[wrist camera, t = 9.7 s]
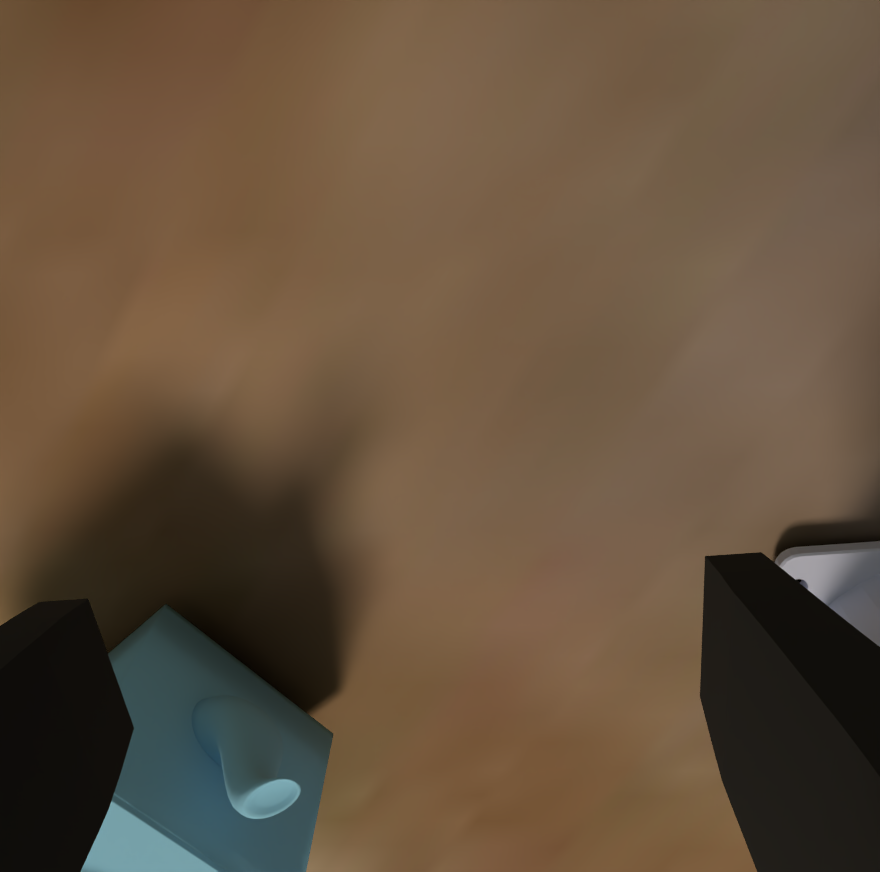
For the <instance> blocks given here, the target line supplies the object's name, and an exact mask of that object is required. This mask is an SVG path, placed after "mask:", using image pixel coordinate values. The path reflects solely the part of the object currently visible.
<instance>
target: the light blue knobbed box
mask: <svg viewBox="0 0 880 872" xmlns="http://www.w3.org/2000/svg"><path fill="white" fill-rule="evenodd" d="M108 656H109V659H110V662H111V664H112V667H113V670H114V673H115V676H116V678H117V681H118V684H119V687H120V690H121V692H122V695H123V698H124V701H125V704H126V706H127V709H128V712H129V715H130V718H131V720H132V723H133V726H134V730H133V734H132V737H131V740H130V744H129V747H128V750H127V754H126V757H125V761H124V764H123V767H122V771H121V774H120V777H119V780H118V783H117V786H116V789H115V792H114V795H113V798H112V801H111V804H110V807H109V810H108V812H107V814H106V817H105V819H104V821H103V823H102V826H101V828H100V830H99V832H98V835H97V837H96V839H95V841H94V843H93V846H92V848H91V850H90V852H89V854H88V856H87V859H86V861H85V863H84V865H83V867H82V870H81V872H306V869H307V864H308V859H309V854H310V849H311V844H312V839H313V834H314V829H315V824H316V819H317V814H318V809H319V804H320V799H321V794H322V788H323V783H324V778H325V773H326V768H327V763H328V758H329V753H330V748H331V743H332V738H333V733H332V732H330V731H329V730H328V729H326V728H325V727H324V726H323V725H321V724H320V723H319V722H318V721H316V720H315V719H314V718H312V717H311V716H310V715H309V714H307V713H306V712H305V711H303V710H302V709H301V708H300V707H298V706H297V705H296V704H294V703H293V702H292V701H290V700H289V699H288V698H287V697H285V696H284V695H283V694H281V693H280V692H279V691H278V690H276V689H275V688H274V687H272V686H271V685H270V684H269V683H267V682H266V681H265V680H264V679H262V678H261V677H260V676H258V675H257V674H256V673H255V672H253V671H252V670H251V669H249V668H248V667H247V666H246V665H244V664H243V663H242V662H240V661H239V660H238V659H237V658H235V657H234V656H233V655H231V654H230V653H229V652H227V651H226V650H225V649H224V648H222V647H221V646H220V645H219V644H217V643H216V642H215V641H213V640H212V639H211V638H210V637H208V636H207V635H206V634H204V633H203V632H202V631H201V630H199V629H198V628H197V627H195V626H194V625H193V624H192V623H190V622H189V621H188V620H186V619H185V618H184V617H183V616H181V615H180V614H179V613H177V612H176V611H175V610H174V609H172V608H171V607H170V606H168V605H167V604H165V605H164V606H163V607H161V608H160V609H159V610H158V611H157V612H156V613H154V614H153V615H152V616H151V617H150V618H149V619H147V620H146V621H145V622H144V623H143V624H142V625H140V626H139V627H138V628H137V629H136V630H135V631H134V632H132V633H131V634H130V635H129V636H128V637H127V638H125V639H124V640H123V641H122V642H121V643H120V644H118V645H117V646H116V647H115V648H114V649H113V650H111V651H110V652H109V653H108Z"/></svg>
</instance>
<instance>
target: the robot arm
mask: <svg viewBox="0 0 880 872" xmlns="http://www.w3.org/2000/svg"><path fill="white" fill-rule="evenodd" d="M796 579H802V581H801V582H800V583H799V582H798V581H796ZM700 698H701V702H702V706H703V710H704V714H705V718H706V722H707V725H708V729H709V733H710V737H711V741H712V745H713V749H714V752H715V756H716V760H717V763H718V767H719V771H720V774H721V778H722V781H723V784H724V787H725V789H726V792H727V795H728V797H729V800H730V803H731V805H732V808H733V810H734V813H735V815H736V818H737V821H738V823H739V826H740V828H741V831H742V833H743V836H744V839H745V841H746V844H747V846H748V849H749V851H750V854H751V857H752V859H753V862H754V864H755V867H756V869H757V872H880V541H874V542H860V543H845V544H831V545H817V546H802V547H793V548H789V549H786V550H785V551H783V552H781V553H780V554H779V556H778V557H777V558H776V560H775V563H774V562H773V561H772V560H770V559H769V558H768V557H766V556H765V555H764V554H763V553H761V552H760V553H745V554H731V555H716V556H705V576H704V603H703V631H702V658H701V686H700ZM133 730H134V726H133V723H132V720H131V718H130V715H129V712H128V709H127V706H126V704H125V701H124V698H123V695H122V692H121V690H120V687H119V684H118V681H117V678H116V676H115V673H114V670H113V667H112V664H111V662H110V659H109V656H108V653H107V650H106V648H105V645H104V642H103V639H102V636H101V634H100V631H99V628H98V625H97V622H96V620H95V617H94V614H93V611H92V608H91V606H90V603H89V600H88V599H77V600H63V601H48V602H39V603H37V604H35V605H34V606H32V607H30V608H28V609H27V610H25V611H23V612H21V613H20V614H18V615H17V616H15V617H13V618H12V619H10V620H9V621H7V622H6V623H4V624H2V625H1V626H0V872H81V870H82V867H83V865H84V863H85V861H86V859H87V856H88V854H89V852H90V850H91V848H92V846H93V843H94V841H95V839H96V837H97V835H98V832H99V830H100V828H101V826H102V823H103V821H104V819H105V817H106V814H107V812H108V810H109V807H110V804H111V801H112V798H113V795H114V792H115V789H116V786H117V783H118V780H119V777H120V774H121V771H122V767H123V764H124V761H125V757H126V754H127V750H128V747H129V744H130V740H131V737H132V734H133Z"/></svg>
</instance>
